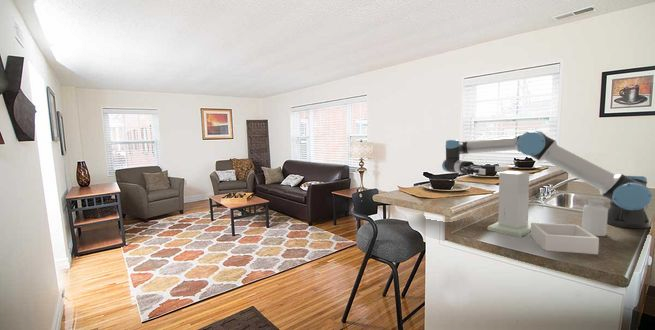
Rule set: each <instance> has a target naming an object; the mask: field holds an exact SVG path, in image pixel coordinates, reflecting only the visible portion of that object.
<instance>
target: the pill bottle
mask: <svg viewBox="0 0 655 330" xmlns="http://www.w3.org/2000/svg"><path fill="white" fill-rule="evenodd" d="M582 210H583V211H582V220H581V221H582V222H581V228H583V229H585V230H586V231H588V232H589V233H591V234H593V235H594V236H596V237H605V236H606V235H607V229H608V223H607V218H608V207H606V206H605V200H604V199H600V198H588V199H587V204H585V205H584V206H583V207H582Z"/></svg>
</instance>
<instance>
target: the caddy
mask: <svg viewBox="0 0 655 330" xmlns="http://www.w3.org/2000/svg"><path fill="white" fill-rule="evenodd" d="M530 237H531V238H532V240H534V241H535V242H536V243H537V244H538V245H539V246H540V247H541V248H542V249H543V250H544V251H549V252H560V253H574V254H575V253H576V254H589V255H599V243H600V241H599V240H600V238H599V236H594V235H593V234H591V233H589V232H588V231H586V230H585V229H583V228H582V226H579V225H578V224H570V223H569V224H568V223H567V224H566V223H549V222H548V223H546V222H545V223H543V222H541V223H540V222H537V223H531V231H530Z"/></svg>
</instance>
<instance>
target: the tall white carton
mask: <svg viewBox="0 0 655 330" xmlns="http://www.w3.org/2000/svg"><path fill="white" fill-rule="evenodd" d="M498 173H499V176H498V179H499V181H498V187H499V188H498V220H497V222H498V224H501V225H504V226H508V227H512V228H516V229H517V228H521V227H524V226H527V225H528V221H529V198H530V197H529V195H530V193H529V192H530V172H529V171H527V172H526V171H516V170H515V171H514V170H507V171H506V172H498Z"/></svg>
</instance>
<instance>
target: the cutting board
mask: <svg viewBox="0 0 655 330" xmlns="http://www.w3.org/2000/svg"><path fill="white" fill-rule="evenodd" d="M531 223H538V222H537V221H535V222H534V221H529V220H528V225H527V226H524V227H521V228H517V229H516V228H512V227H508V226H504V225H501V224H498V221H496V222H494V223H493V224H490V225H488V226H487V230H488V231H491V232H497V233H501V234H506V235H510V236H514V237H519V238H522V237H523V236H525V235H527V234H529V233H531Z"/></svg>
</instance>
